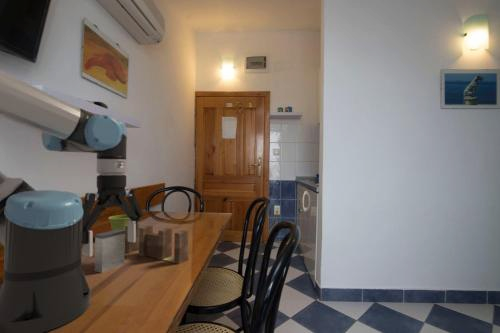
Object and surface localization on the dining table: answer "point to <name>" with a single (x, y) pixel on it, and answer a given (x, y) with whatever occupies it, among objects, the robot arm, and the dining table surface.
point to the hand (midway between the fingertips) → (111, 248)
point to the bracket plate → (109, 250)
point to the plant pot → (119, 222)
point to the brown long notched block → (159, 244)
